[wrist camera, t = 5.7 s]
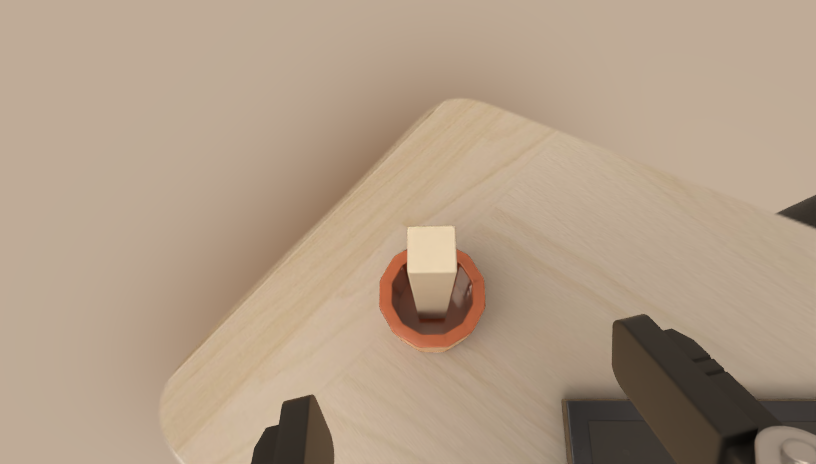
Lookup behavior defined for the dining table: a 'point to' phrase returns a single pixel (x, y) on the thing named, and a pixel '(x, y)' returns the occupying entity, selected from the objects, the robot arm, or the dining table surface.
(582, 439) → the tablet
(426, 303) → the stylus
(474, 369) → the dining table surface
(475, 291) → the pen pot
